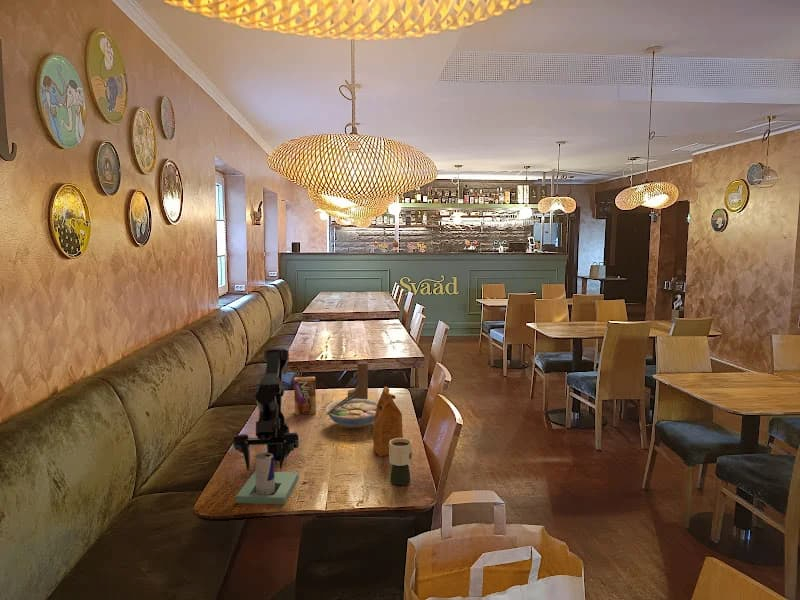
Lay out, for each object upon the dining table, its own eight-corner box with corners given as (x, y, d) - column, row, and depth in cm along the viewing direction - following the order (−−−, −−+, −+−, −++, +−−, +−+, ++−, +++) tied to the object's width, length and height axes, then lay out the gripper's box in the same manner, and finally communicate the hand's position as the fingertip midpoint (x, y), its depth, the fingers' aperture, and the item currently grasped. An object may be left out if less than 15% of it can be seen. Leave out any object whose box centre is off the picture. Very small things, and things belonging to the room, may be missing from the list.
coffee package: (398, 442, 198) (398, 384, 195) (404, 456, 186) (405, 394, 183) (371, 444, 196) (371, 385, 193) (376, 458, 184) (376, 396, 181)
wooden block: (347, 403, 242) (347, 364, 239) (347, 399, 246) (347, 361, 244) (367, 402, 243) (367, 363, 240) (367, 399, 247) (367, 361, 245)
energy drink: (278, 493, 159) (277, 454, 158) (266, 501, 155) (265, 461, 153) (265, 488, 162) (263, 450, 160) (252, 496, 157) (251, 457, 156)
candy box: (316, 410, 232) (315, 376, 230) (316, 414, 227) (315, 378, 225) (294, 411, 230) (294, 376, 228) (294, 415, 226) (293, 379, 224)
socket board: (254, 477, 169) (254, 471, 169) (298, 478, 169) (298, 472, 168) (236, 502, 154) (236, 496, 153) (284, 504, 153) (284, 498, 153)
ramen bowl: (368, 440, 199) (368, 419, 198) (313, 432, 207) (313, 412, 206) (392, 418, 222) (392, 399, 221) (342, 412, 230) (342, 393, 229)
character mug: (415, 489, 162) (415, 448, 160) (391, 491, 161) (391, 449, 159) (408, 473, 173) (408, 434, 171) (386, 475, 172) (386, 436, 170)
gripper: (232, 408, 158) (226, 460, 148) (297, 406, 160) (295, 457, 150) (238, 424, 166) (232, 474, 157) (299, 422, 169) (297, 471, 159)
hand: (264, 469), depth 156 cm, fingers open, 9 cm apart
